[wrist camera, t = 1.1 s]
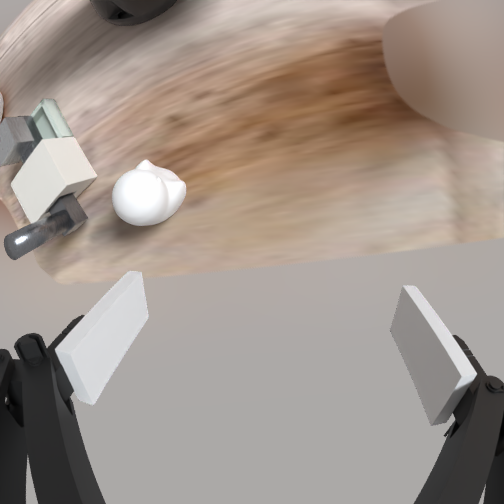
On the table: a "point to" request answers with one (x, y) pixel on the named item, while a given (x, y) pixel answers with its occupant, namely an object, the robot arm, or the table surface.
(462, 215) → the table surface
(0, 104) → the white faceted bowl
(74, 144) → the housing
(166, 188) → the figurine
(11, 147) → the block
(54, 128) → the tray
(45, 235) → the grey l-shaped bracket
